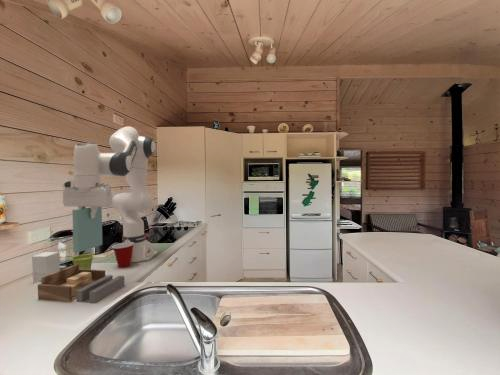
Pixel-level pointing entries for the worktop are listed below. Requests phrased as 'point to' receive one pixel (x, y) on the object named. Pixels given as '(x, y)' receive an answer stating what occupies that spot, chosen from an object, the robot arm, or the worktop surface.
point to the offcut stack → (79, 281)
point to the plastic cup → (123, 253)
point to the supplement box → (45, 265)
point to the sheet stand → (99, 289)
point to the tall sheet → (86, 229)
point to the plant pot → (83, 261)
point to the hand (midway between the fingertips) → (88, 218)
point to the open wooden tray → (63, 283)
